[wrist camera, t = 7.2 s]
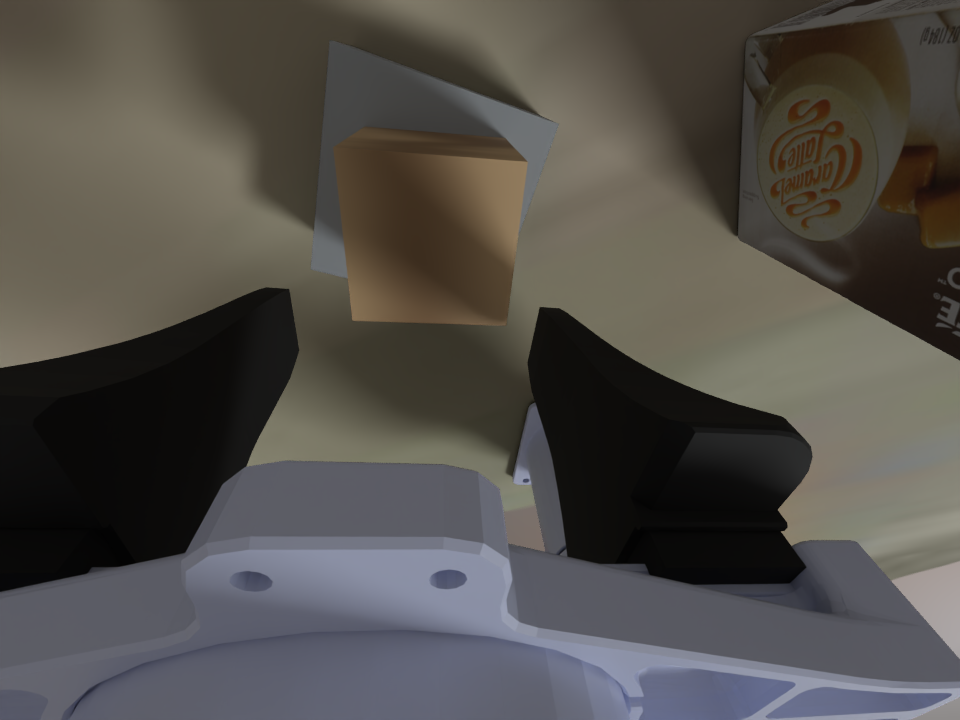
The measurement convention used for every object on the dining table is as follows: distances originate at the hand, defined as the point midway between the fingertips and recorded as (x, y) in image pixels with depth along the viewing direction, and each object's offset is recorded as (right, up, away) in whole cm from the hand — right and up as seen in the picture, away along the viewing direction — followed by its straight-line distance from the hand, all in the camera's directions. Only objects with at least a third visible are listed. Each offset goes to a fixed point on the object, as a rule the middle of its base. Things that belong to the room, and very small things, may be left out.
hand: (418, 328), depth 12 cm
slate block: (-1, +8, +7) cm, 10 cm away
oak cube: (0, +5, +4) cm, 7 cm away
